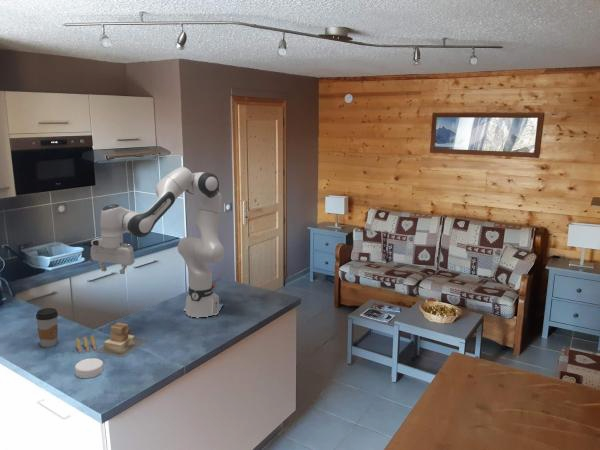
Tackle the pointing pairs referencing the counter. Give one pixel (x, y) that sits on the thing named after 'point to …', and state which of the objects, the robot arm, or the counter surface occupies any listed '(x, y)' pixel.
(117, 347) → the base block
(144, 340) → the mat
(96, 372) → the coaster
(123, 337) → the oak block
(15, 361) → the counter surface
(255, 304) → the counter surface
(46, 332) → the coffee cup
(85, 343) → the ammunition
